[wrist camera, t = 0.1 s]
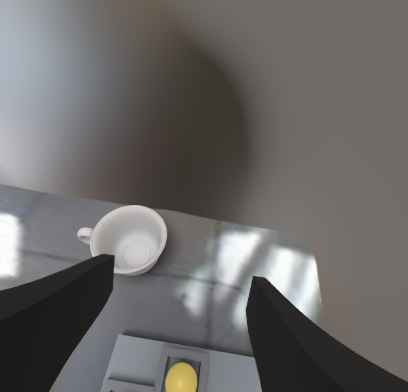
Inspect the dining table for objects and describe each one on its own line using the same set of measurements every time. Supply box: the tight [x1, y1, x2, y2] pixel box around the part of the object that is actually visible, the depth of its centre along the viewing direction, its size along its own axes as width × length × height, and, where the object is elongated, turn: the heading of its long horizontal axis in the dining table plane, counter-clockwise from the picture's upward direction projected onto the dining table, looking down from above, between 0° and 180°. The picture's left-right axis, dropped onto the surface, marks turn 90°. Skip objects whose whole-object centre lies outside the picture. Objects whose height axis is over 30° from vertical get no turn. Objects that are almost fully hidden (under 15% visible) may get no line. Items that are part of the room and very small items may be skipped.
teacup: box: [77, 205, 167, 276], centre depth 40 cm, size 12×15×10 cm
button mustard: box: [165, 362, 197, 392], centre depth 29 cm, size 4×4×2 cm
